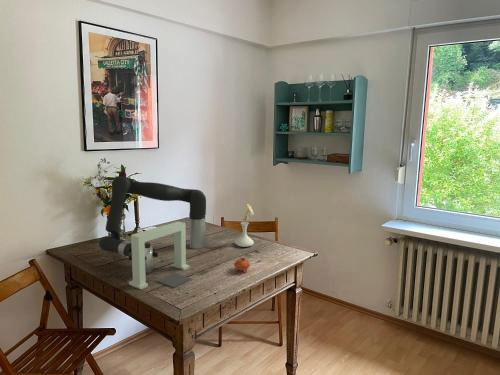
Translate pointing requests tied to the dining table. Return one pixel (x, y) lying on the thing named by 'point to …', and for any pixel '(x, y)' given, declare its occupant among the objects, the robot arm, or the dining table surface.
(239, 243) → the flower in vase
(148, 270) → the plug peg
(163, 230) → the frame
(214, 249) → the dining table surface
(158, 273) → the dining table surface
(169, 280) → the rubber mat
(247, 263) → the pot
